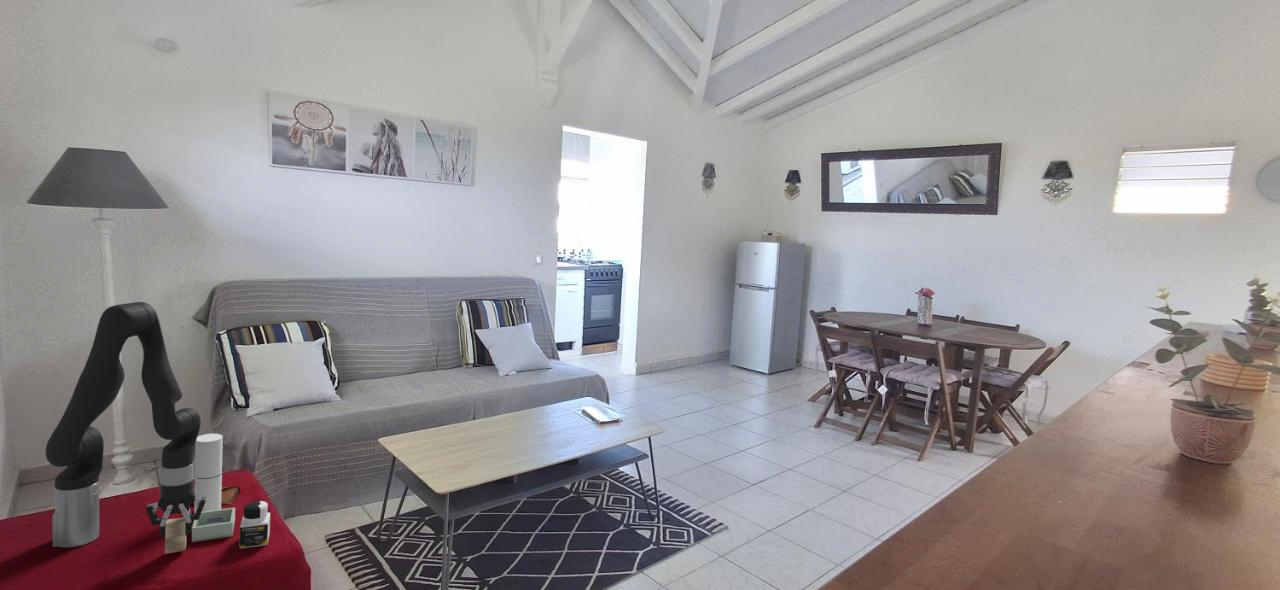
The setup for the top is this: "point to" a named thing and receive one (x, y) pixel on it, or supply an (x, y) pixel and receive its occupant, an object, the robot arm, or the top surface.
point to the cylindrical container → (208, 470)
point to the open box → (214, 525)
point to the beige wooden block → (175, 535)
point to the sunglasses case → (227, 494)
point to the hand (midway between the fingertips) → (176, 534)
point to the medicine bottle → (255, 525)
